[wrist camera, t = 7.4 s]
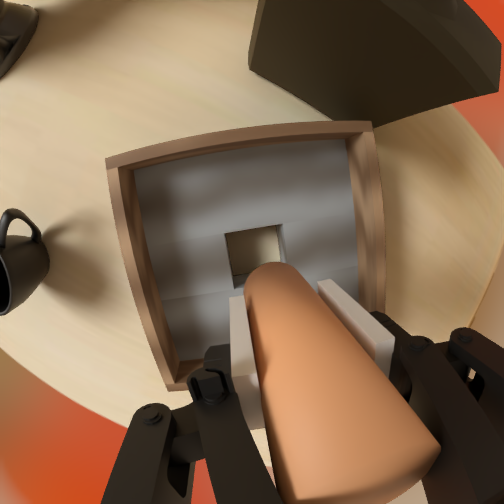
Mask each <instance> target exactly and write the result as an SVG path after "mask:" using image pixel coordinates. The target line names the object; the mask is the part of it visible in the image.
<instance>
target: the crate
mask: <svg viewBox="0 0 504 504" xmlns="http://www.w3.org/2000/svg"><path fill="white" fill-rule="evenodd" d="M105 162H106V170H107V177H108V184H109V191H110V197H111V203H112V209H113V214H114V219H115V225H116V229H117V234H118V239H119V243H120V248H121V252H122V256H123V260H124V264H125V268H126V272H127V276H128V279H129V283H130V287H131V290H132V293H133V297H134V300H135V303H136V307H137V310H138V313H139V316H140V319H141V322H142V325H143V328H144V331H145V334H146V337H147V340H148V342H149V345H150V348H151V351H152V353H153V356H154V358H155V361H156V364H157V366H158V369H159V371H160V374H161V376H162V378H163V381H164V383H165V385H166V388H167V390H168V392H171V391H185V390H189V389H188V386H187V384H186V382H187V378H188V376H189V375H190V374H191V373H192V372H193V371H195V370H197V369H199V368H202V367H203V363H204V355H205V352H206V351H207V350H208V348H209V347H210V346H215V345H222V344H229V343H230V307H229V298H230V297H236V296H242V295H243V291H244V285H245V282H246V280H247V278H248V277H249V275H250V274H251V273H249V274H243V275H237V276H233V273H232V268H231V262H230V257H229V251H228V245H227V240H226V234H225V233H229V232H235V231H241V230H247V229H253V228H259V227H265V226H271V225H276V228H277V236H278V243H279V251H280V258H281V262H283V263H286V264H289V265H291V266H293V267H294V268H295V269H296V270H297V271H298V272H299V273H300V274H301V275H302V276H303V277H304V279H305V280H306V281H307V282H308V283H309V284H310V286H311V287H312V288H313V289H314V290H315V291H316V293H317V294H318V283H317V281H322V280H327V279H331V280H332V281H334V282H335V283H336V284H337V285H338V286H339V287H340V288H342V289H343V290H344V291H345V292H346V293H347V294H348V295H349V296H350V297H352V298H353V299H354V300H355V301H356V302H357V303H358V304H359V305H360V306H362V307H363V308H364V309H365V310H366V311H367V312H368V313H369V312H373V311H379V312H381V313H384V314H385V291H386V249H385V225H384V210H383V199H382V188H381V179H380V171H379V164H378V157H377V150H376V144H375V138H374V133H373V127H372V122H371V121H316V122H298V123H284V124H273V125H263V126H255V127H247V128H239V129H232V130H225V131H219V132H213V133H207V134H202V135H196V136H191V137H186V138H181V139H177V140H172V141H168V142H163V143H159V144H155V145H151V146H147V147H143V148H139V149H136V150H132V151H129V152H125V153H122V154H118V155H115V156H112V157H108V158H105Z"/></svg>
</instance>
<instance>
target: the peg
mask: <svg viewBox="0 0 504 504" xmlns="http://www.w3.org/2000/svg"><path fill="white" fill-rule="evenodd" d="M243 295H244V299H245V305H246V310H247V316H248V322H249V328H250V334H251V340H252V346H253V352H254V358H255V364H256V370H257V376H258V382H259V387H260V393H261V406H262V412H263V418H264V423H265V429H266V435H267V440H268V446H269V451H270V457H271V462H272V468H273V473H274V479H275V484H276V489H277V492H278V494H279V496H280V498H281V500H282V502H283V504H386V503H388V502H390V501H392V500H393V499H395V498H396V497H398V496H399V495H401V494H403V493H404V492H406V491H407V490H408V489H410V488H411V487H412V486H414V485H415V484H416V483H417V482H418V481H419V480H421V479H422V478H423V477H424V476H425V475H426V474H427V473H428V471H429V470H430V468H431V466H432V465H433V463H434V462H435V460H436V459H437V457H438V455H439V454H440V452H441V446H440V444H439V443H438V442H437V440H436V439H435V438H434V436H433V435H432V434H431V433H430V431H429V430H428V429H427V427H426V426H425V425H424V424H423V422H422V421H421V420H420V418H419V417H418V416H417V415H416V413H415V412H414V411H413V409H412V408H411V407H410V406H409V404H408V403H407V402H406V401H405V399H404V398H403V397H402V396H401V394H400V393H399V392H398V390H397V389H396V388H395V387H394V385H393V384H392V383H391V382H390V381H389V379H388V378H387V377H386V376H385V374H384V373H383V372H382V371H381V369H380V368H379V367H378V366H377V364H376V363H375V362H374V361H373V360H372V358H371V357H370V356H369V355H368V353H367V352H366V351H365V350H364V349H363V347H362V346H361V345H360V344H359V343H358V341H357V340H356V339H355V338H354V337H353V335H352V334H351V333H350V332H349V331H348V329H347V328H346V327H345V326H344V325H343V323H342V322H341V321H340V320H339V319H338V317H337V316H336V315H335V314H334V313H333V311H332V310H331V309H330V308H329V307H328V306H327V304H326V303H325V302H324V301H323V300H322V298H321V297H320V296H319V295H318V294H317V293H316V291H315V290H314V289H313V288H312V287H311V286H310V284H309V283H308V282H307V281H306V280H305V279H304V277H303V276H302V275H301V274H300V273H299V272H298V271H297V270H296V269H295V268H294V267H293V266H291V265H289V264H286V263H283V262H270V263H266V264H263V265H261V266H259V267H258V268H256V269H255V270H254V271H253V272H252V273H251V274H250V275H249V277H248V278H247V280H246V282H245V285H244V291H243Z"/></svg>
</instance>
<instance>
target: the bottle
mask: <svg viewBox="0 0 504 504" xmlns="http://www.w3.org/2000/svg"><path fill="white" fill-rule="evenodd" d="M248 65H249V69H250V70H251V71H253V72H255V73H257V74H259V75H261V76H263V77H264V78H266V79H268V80H270V81H272V82H274V83H275V84H277V85H279V86H281V87H282V88H284V89H286V90H288V91H289V92H291V93H293V94H294V95H296V96H297V97H299V98H301V99H302V100H304V101H306V102H307V103H309V104H310V105H312V106H313V107H315V108H316V109H318V110H319V111H321V112H322V113H324V114H325V115H327V116H328V117H330V118H331V119H333V120H334V121H371V122H372V127H373V128H376V127H379V126H382V125H384V124H387V123H390V122H393V121H396V120H399V119H402V118H405V117H408V116H411V115H414V114H417V113H421V112H424V111H427V110H430V109H434V108H437V107H441V106H444V105H448V104H451V103H455V102H459V101H462V100H466V99H470V98H474V97H478V96H482V95H487V94H491V93H495V92H498V91H499V81H500V69H501V67H500V66H501V43H500V42H499V40H498V39H497V38H496V36H495V35H494V34H493V33H492V31H491V30H490V29H489V28H488V27H487V25H486V24H485V23H484V22H483V21H482V20H481V19H480V17H479V16H478V15H477V14H476V13H475V12H474V11H473V10H472V9H471V8H470V7H469V5H467V4H466V2H464V0H259V1H258V6H257V11H256V16H255V21H254V26H253V31H252V36H251V41H250V47H249V52H248Z"/></svg>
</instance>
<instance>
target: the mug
mask: <svg viewBox="0 0 504 504" xmlns="http://www.w3.org/2000/svg"><path fill="white" fill-rule="evenodd" d="M16 218H18V219H21V220H23V221H25V222H26V223H27V224H28V225H29V226H30V228H31V230H32V235H31V237H26V236H18V235H7V230H8V227H9V224H10V222H11V221H12V220H14V219H16ZM49 263H50V261H49V255H48V252H47V249H46V247H45V246H44V244H43V243H42V242H41V232H40V230H39V229H38V227H37V226H36V225H35V224H34V223H33V222H32V221H31V220H30V219H29V218H28V217H27V216H26V215H25V214H24V213H23V212H22V211H20V210H18V209H14V208H11V209H7V210H6V211H5V212H4V213H3V215H2V217H1V220H0V316H2V315H6V314H7V313H9V312H10V311H12V310H13V309H15V308H16V307H18V306H19V305H20V304H22V303H23V302H24V301H25V300H26V299H27V298H28V297H29V296H30V295H31V294H32V293H33V292H34V290H35V289H36V288H37V287H38V285H39V284H40V282H41V281H42V280H43V278H44V277H45V276H46V274H47V273H48V270H49Z"/></svg>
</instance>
